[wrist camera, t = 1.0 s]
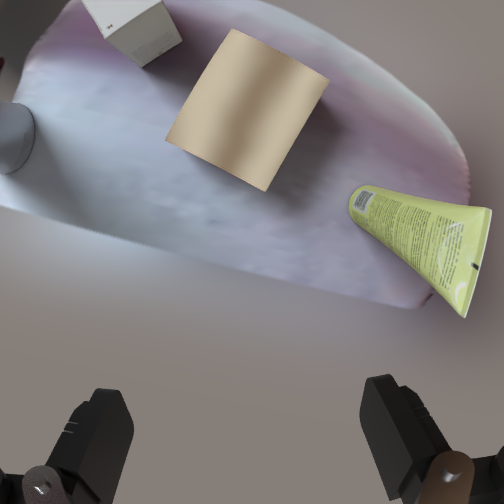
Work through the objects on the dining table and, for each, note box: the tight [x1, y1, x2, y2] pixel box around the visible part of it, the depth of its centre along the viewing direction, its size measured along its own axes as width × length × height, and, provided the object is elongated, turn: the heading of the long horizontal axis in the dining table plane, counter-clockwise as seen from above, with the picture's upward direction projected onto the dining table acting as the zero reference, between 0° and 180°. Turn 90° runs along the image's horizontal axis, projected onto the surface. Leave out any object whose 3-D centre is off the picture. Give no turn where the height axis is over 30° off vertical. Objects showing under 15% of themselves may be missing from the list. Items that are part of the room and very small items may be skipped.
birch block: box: [165, 29, 330, 192], centre depth 27 cm, size 10×12×6 cm
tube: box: [349, 185, 492, 318], centre depth 25 cm, size 6×5×20 cm
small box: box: [81, 0, 183, 68], centre depth 21 cm, size 8×6×10 cm
